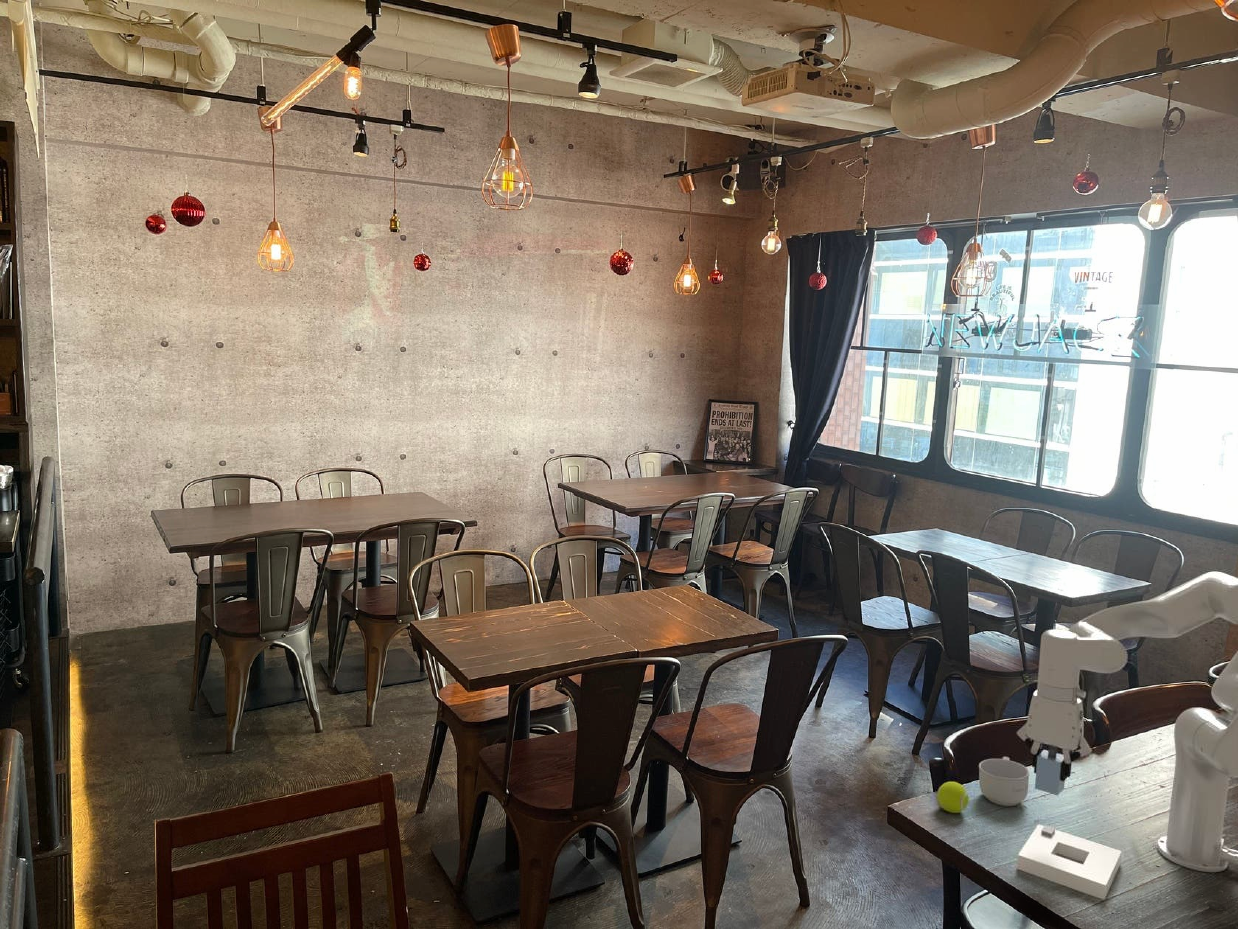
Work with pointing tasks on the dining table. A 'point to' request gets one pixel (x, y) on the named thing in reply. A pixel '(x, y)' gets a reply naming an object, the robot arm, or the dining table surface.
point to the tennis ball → (953, 797)
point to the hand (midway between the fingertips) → (1050, 774)
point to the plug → (1049, 771)
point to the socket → (1070, 861)
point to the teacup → (1003, 781)
